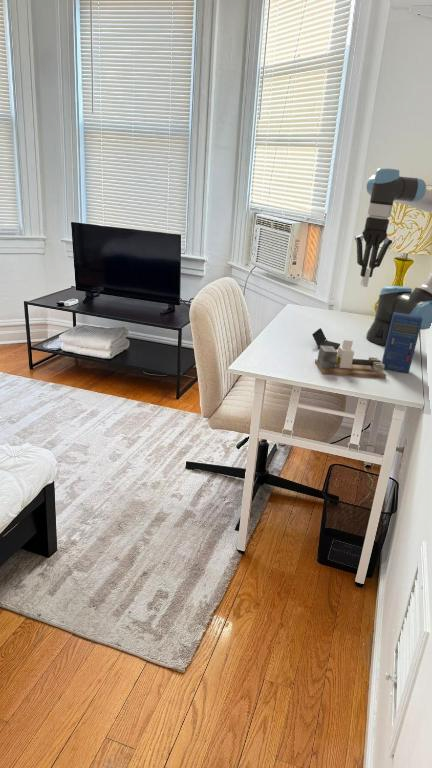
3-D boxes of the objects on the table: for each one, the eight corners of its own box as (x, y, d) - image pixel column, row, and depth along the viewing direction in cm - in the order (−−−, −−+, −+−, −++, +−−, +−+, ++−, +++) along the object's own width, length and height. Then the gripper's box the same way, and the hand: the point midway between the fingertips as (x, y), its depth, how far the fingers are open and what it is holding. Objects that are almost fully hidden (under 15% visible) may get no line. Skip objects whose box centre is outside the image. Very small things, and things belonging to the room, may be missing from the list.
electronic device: (381, 369, 187) (394, 314, 179) (380, 364, 192) (393, 311, 184) (408, 374, 185) (422, 319, 177) (407, 369, 190) (421, 315, 182)
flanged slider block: (346, 363, 184) (351, 338, 181) (350, 368, 180) (356, 343, 176) (335, 362, 184) (340, 337, 180) (339, 367, 180) (344, 342, 176)
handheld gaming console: (339, 349, 198) (327, 326, 198) (322, 358, 201) (309, 334, 200) (341, 345, 209) (329, 323, 209) (324, 353, 212) (313, 331, 211)
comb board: (374, 366, 189) (378, 347, 186) (385, 378, 179) (390, 358, 176) (314, 362, 187) (318, 343, 184) (322, 373, 177) (326, 353, 174)
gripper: (392, 217, 183) (377, 285, 192) (356, 214, 181) (343, 282, 191) (400, 220, 176) (385, 289, 185) (363, 216, 175) (349, 286, 184)
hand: (363, 285), depth 188 cm, fingers closed
